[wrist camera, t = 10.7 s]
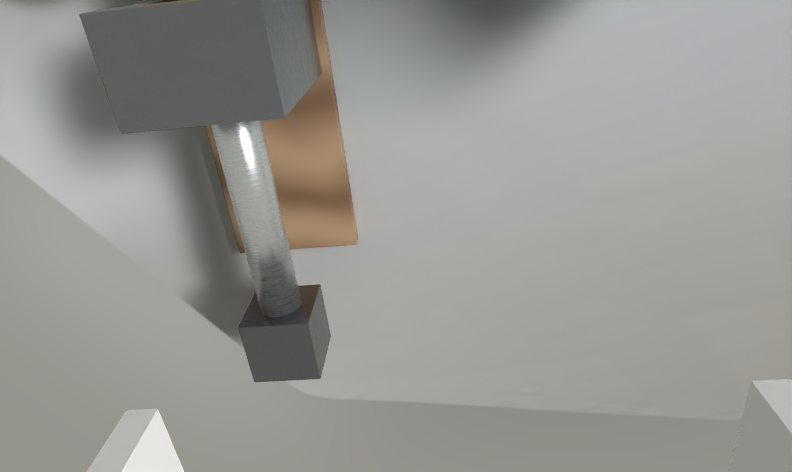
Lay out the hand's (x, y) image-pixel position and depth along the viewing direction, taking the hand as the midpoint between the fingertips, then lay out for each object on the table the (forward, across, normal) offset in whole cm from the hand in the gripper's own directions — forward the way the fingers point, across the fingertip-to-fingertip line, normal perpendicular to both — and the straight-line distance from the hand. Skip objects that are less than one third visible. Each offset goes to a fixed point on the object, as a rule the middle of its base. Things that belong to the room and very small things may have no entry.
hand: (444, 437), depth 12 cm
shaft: (+26, -12, -4) cm, 29 cm away
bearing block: (+31, -12, +6) cm, 33 cm away
